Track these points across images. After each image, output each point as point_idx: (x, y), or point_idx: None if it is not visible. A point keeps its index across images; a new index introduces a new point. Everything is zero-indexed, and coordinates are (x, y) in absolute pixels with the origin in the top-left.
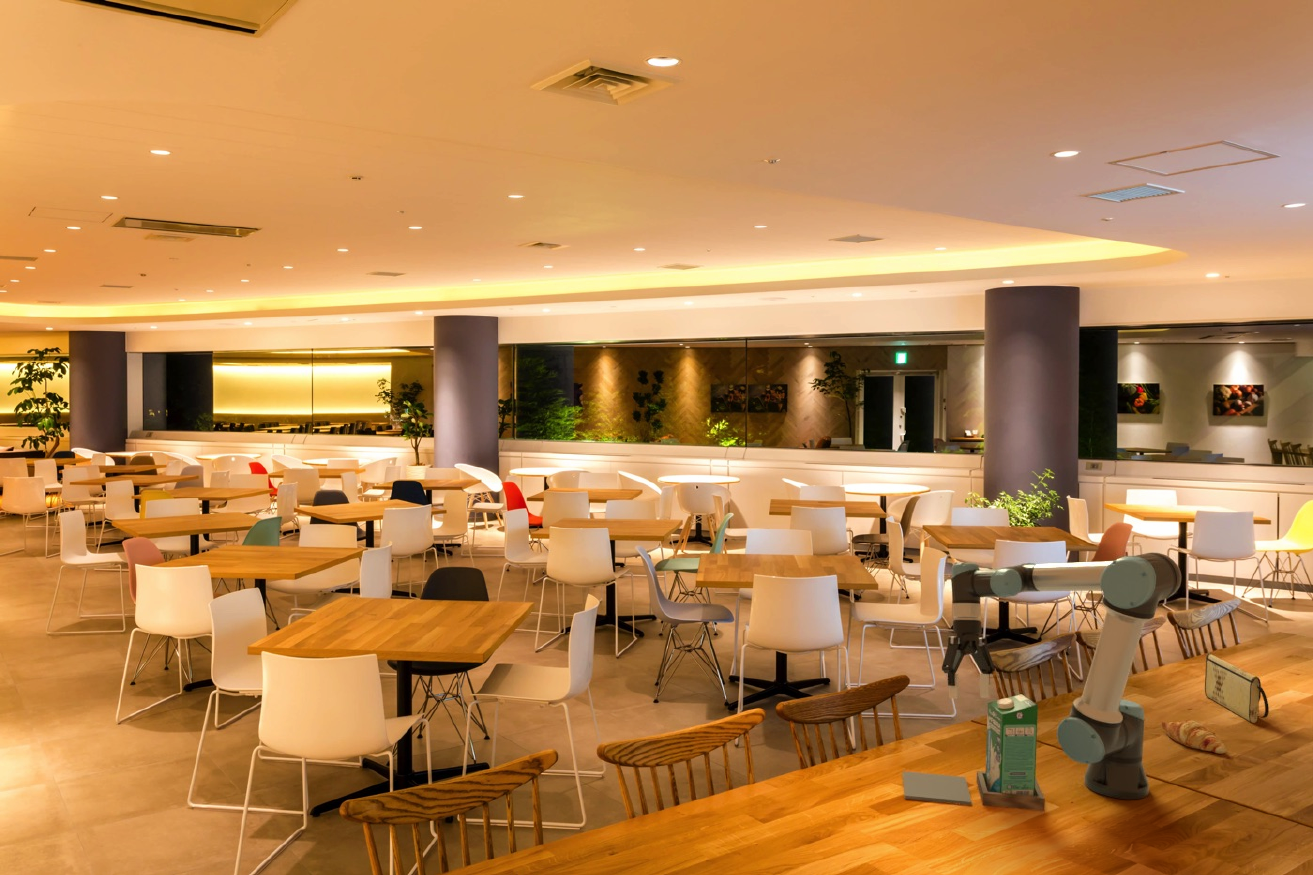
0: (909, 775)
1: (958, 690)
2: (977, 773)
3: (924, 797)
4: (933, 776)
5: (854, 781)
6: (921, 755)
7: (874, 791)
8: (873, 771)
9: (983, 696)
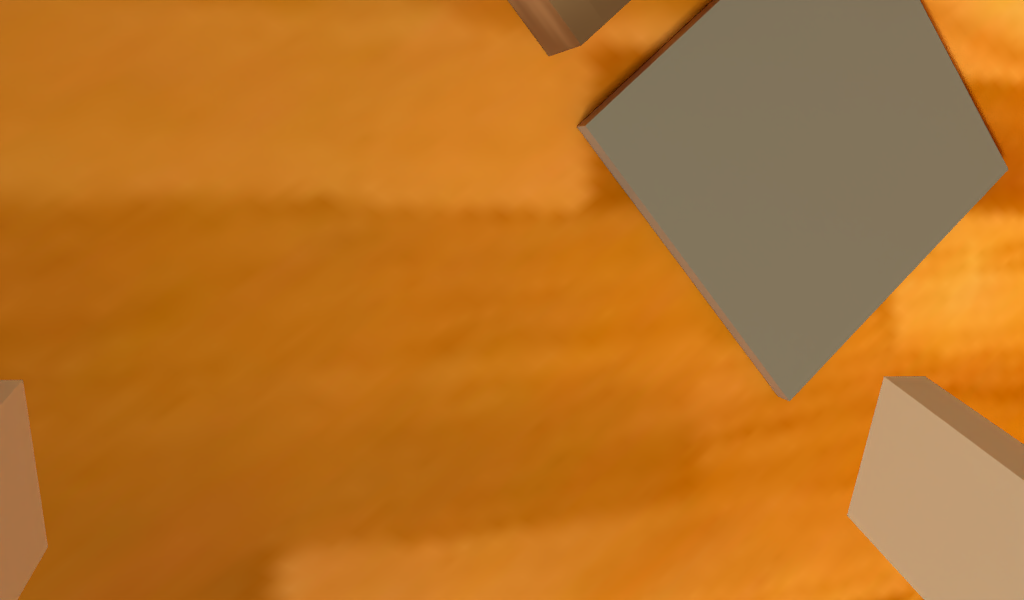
0: (809, 336)
1: (989, 444)
2: (608, 19)
3: (966, 91)
4: (725, 250)
5: None
6: (465, 560)
7: (1017, 313)
8: None
9: (27, 501)
